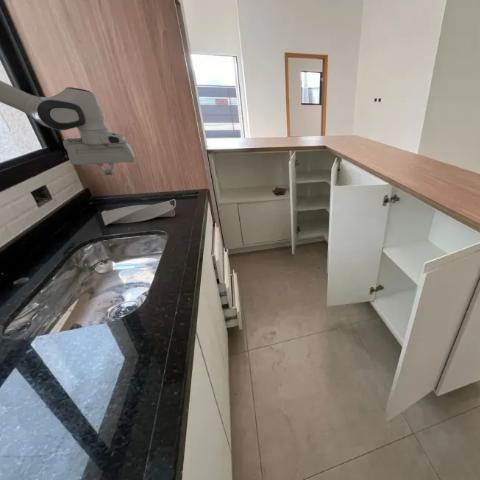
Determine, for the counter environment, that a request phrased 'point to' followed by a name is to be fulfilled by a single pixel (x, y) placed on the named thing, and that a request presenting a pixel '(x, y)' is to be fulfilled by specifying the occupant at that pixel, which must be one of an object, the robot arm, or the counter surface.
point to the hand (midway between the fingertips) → (109, 174)
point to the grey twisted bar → (138, 213)
